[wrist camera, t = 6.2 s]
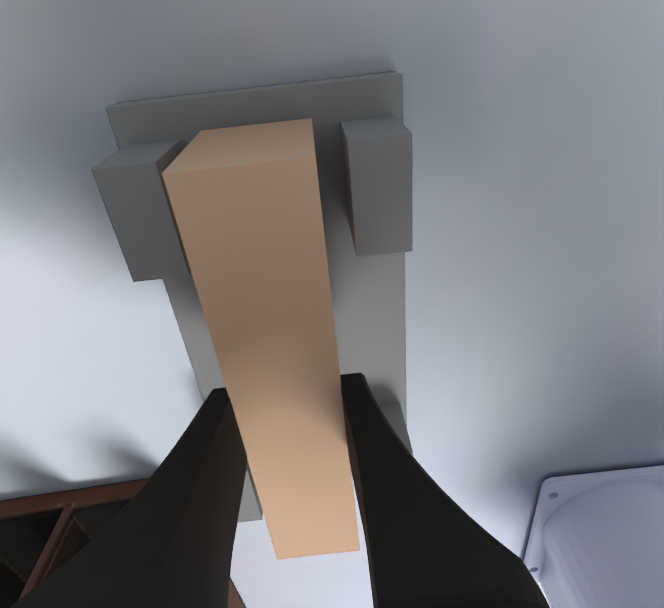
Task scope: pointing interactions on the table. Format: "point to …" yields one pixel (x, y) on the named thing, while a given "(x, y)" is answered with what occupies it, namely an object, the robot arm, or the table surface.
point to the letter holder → (57, 534)
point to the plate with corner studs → (337, 208)
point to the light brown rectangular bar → (272, 321)
